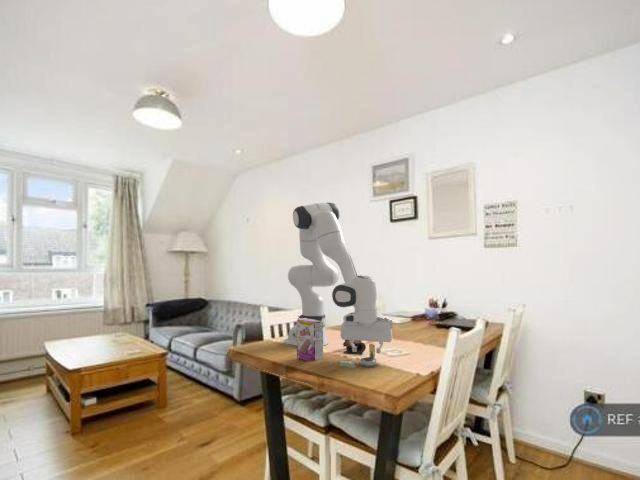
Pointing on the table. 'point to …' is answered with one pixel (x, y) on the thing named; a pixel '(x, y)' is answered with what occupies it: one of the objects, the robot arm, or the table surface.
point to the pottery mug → (359, 344)
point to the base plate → (348, 364)
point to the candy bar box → (309, 339)
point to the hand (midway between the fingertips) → (366, 352)
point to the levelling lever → (369, 358)
